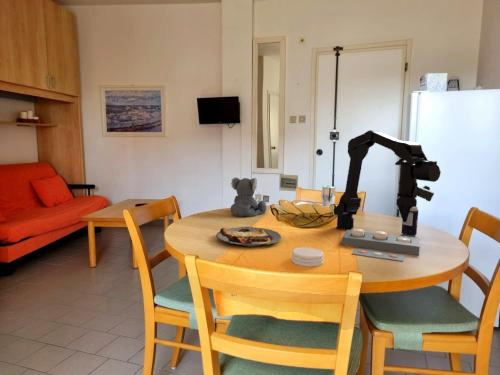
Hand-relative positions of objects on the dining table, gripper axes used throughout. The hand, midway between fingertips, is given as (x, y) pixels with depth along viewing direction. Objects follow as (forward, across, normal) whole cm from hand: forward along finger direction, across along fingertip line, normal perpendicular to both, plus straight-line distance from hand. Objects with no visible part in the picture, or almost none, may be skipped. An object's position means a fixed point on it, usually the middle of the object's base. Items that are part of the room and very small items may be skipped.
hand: (404, 221), depth 125 cm
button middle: (+8, 0, +8) cm, 11 cm away
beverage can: (+10, +20, -2) cm, 23 cm away
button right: (+10, 0, 0) cm, 10 cm away
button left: (+8, 0, +16) cm, 18 cm away
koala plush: (+10, +26, +75) cm, 80 cm away
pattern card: (+10, -12, +8) cm, 17 cm away
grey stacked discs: (+10, -29, +28) cm, 41 cm away
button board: (+10, 0, +8) cm, 13 cm away
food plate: (+10, -15, +55) cm, 58 cm away
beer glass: (+10, +42, +36) cm, 56 cm away
